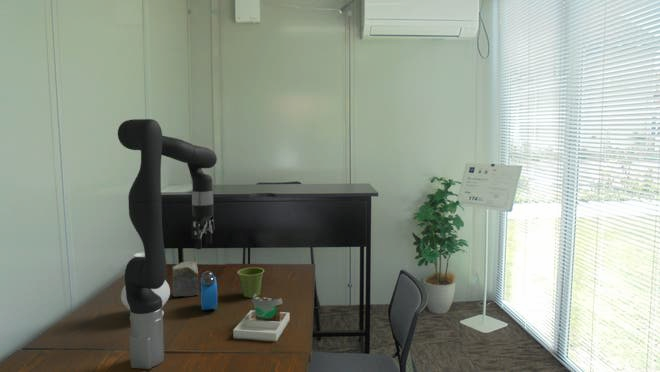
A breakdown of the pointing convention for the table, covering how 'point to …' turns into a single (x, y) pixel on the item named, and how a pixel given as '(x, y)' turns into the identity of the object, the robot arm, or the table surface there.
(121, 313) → the table surface
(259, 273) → the plant pot
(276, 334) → the tray
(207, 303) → the alarm clock
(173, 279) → the geological specimen
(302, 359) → the table surface
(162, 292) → the decorative vase
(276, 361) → the table surface
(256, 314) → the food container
